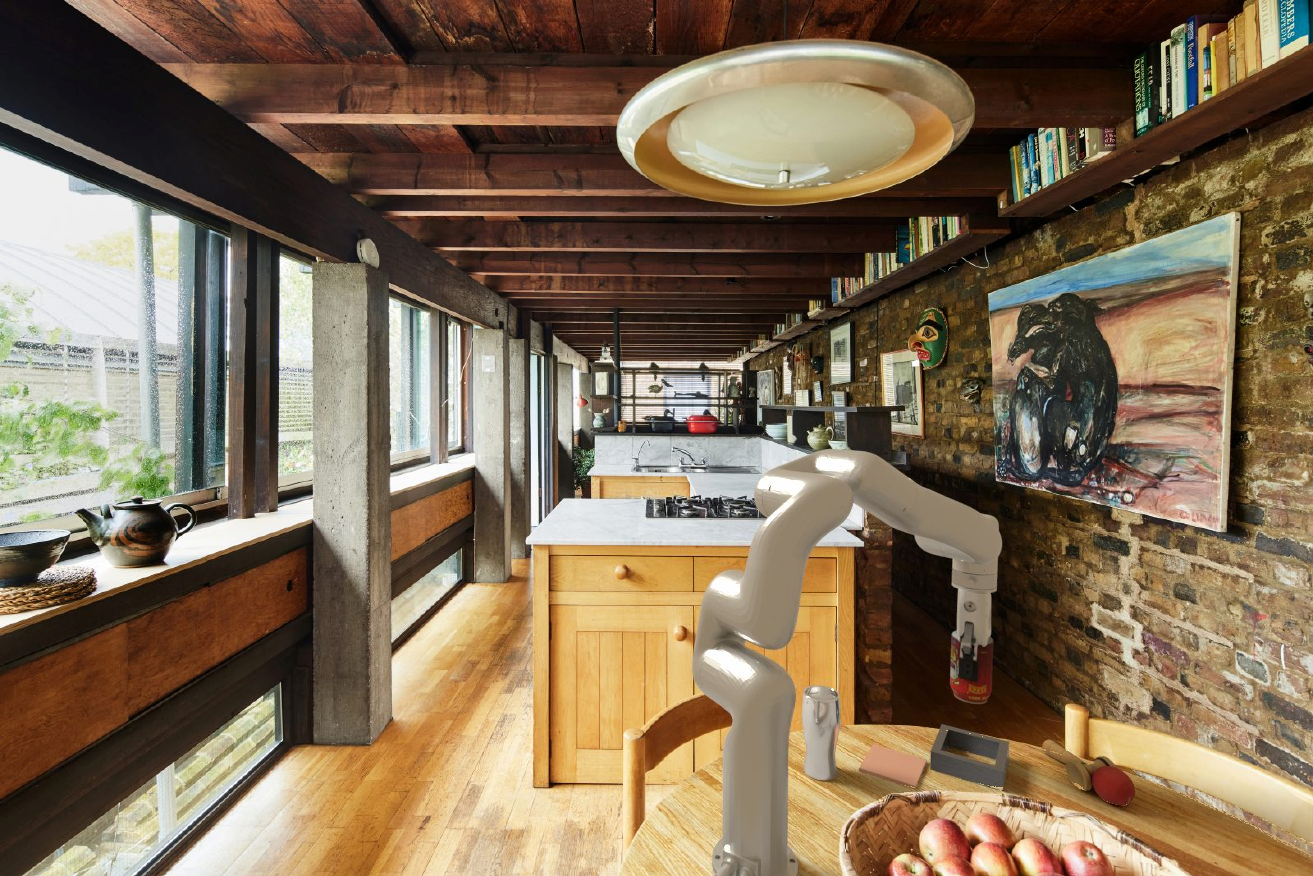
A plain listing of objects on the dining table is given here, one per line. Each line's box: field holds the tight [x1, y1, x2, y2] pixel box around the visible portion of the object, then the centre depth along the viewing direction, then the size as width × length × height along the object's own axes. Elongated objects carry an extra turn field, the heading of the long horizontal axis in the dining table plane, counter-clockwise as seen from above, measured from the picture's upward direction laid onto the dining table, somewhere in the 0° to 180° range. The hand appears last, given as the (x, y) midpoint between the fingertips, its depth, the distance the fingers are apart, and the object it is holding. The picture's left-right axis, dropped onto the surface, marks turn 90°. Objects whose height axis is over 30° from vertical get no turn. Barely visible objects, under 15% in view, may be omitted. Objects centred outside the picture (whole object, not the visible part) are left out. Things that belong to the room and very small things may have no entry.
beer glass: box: [801, 684, 842, 782], centre depth 115 cm, size 7×7×15 cm
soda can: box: [949, 629, 994, 705], centre depth 116 cm, size 7×7×12 cm
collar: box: [929, 723, 1010, 788], centre depth 117 cm, size 12×12×4 cm
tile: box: [858, 743, 928, 787], centre depth 117 cm, size 10×10×1 cm
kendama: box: [1041, 739, 1136, 806], centre depth 112 cm, size 8×6×18 cm
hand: (971, 671), depth 116 cm, fingers closed on soda can, 7 cm apart
